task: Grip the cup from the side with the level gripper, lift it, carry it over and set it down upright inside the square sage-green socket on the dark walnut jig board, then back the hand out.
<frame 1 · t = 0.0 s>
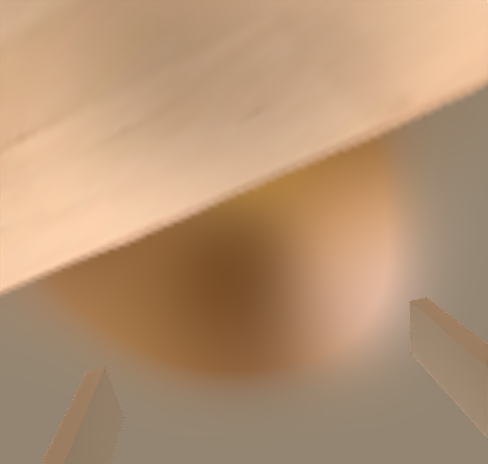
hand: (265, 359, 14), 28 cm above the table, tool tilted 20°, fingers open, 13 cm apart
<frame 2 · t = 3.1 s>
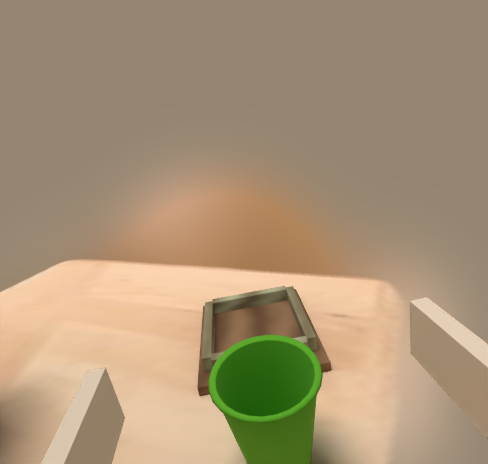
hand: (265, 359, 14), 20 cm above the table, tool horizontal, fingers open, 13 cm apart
jig cradle: (256, 336, 47), on the table
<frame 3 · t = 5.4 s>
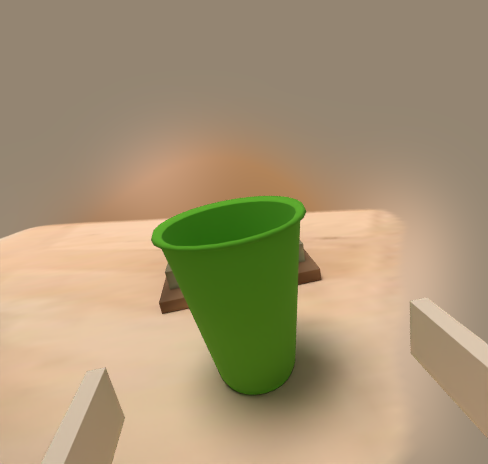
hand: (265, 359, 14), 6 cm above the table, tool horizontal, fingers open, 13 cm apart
jig cradle: (235, 261, 41), on the table
cup: (258, 369, 23), on the table
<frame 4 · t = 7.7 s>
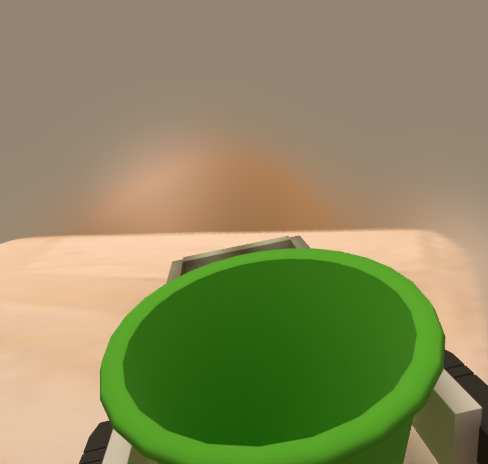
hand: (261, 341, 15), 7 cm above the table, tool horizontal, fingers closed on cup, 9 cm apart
jig cradle: (248, 303, 31), on the table
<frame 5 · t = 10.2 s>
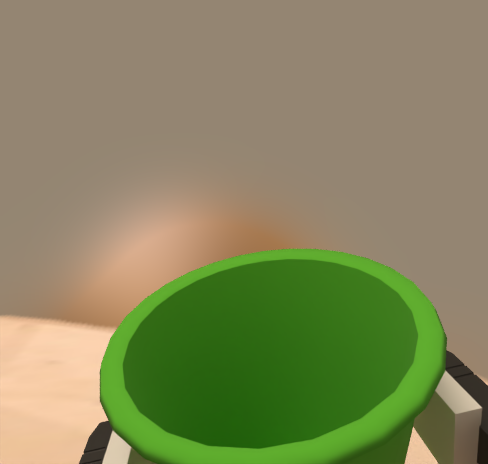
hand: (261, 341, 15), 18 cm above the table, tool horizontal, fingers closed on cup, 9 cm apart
when the fingers open (9 cm above the table, at t = 12.7 s): cup drops 1 cm, resting on jig cradle.
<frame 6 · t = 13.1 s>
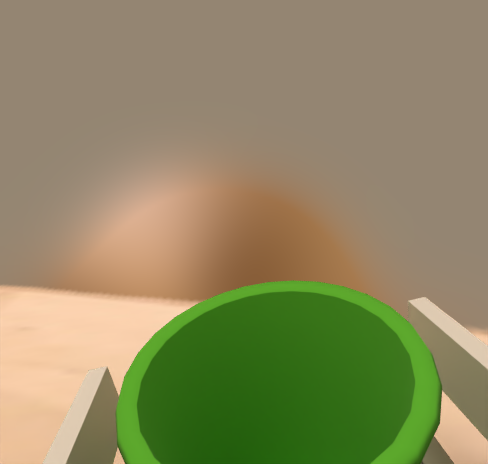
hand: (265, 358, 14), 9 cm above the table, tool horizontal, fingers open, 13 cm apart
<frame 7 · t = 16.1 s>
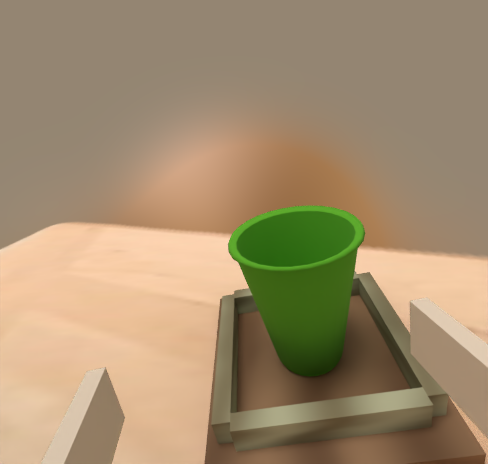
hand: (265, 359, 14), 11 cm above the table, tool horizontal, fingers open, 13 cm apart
jig cradle: (311, 361, 27), on the table
cup: (309, 353, 27), point 1 cm above the table, touching jig cradle
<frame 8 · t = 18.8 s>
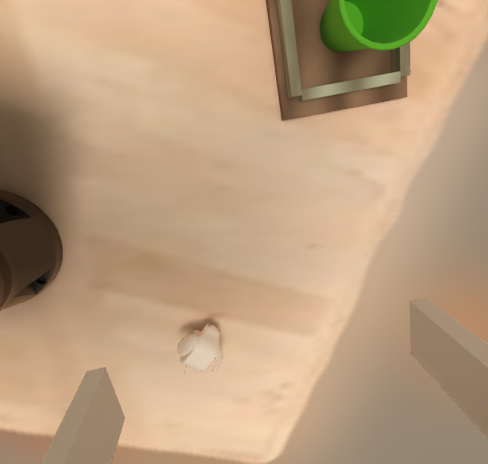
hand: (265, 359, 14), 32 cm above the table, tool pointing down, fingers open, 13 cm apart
elephant figurine: (200, 336, 50), on the table
jig cradle: (336, 30, 39), on the table
cup: (339, 28, 38), point 1 cm above the table, touching jig cradle
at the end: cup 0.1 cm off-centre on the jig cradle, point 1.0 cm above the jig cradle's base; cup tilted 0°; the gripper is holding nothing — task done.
